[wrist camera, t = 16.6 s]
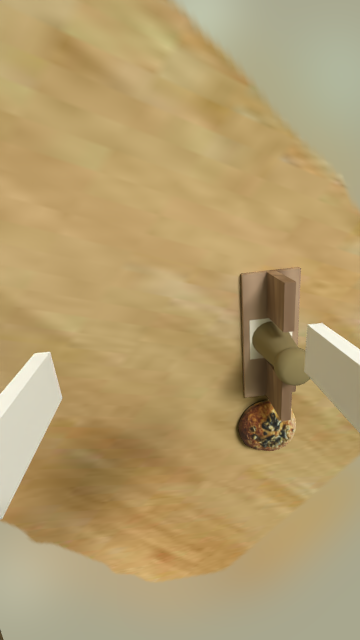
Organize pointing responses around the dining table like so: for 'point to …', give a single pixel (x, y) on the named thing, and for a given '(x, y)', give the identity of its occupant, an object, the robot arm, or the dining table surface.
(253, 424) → the bread roll
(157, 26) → the dining table surface
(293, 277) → the notched board
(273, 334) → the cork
